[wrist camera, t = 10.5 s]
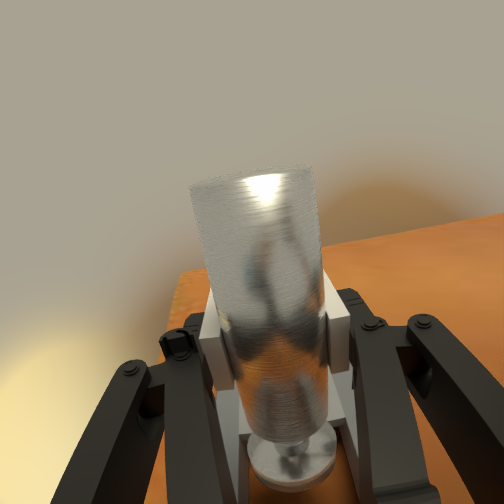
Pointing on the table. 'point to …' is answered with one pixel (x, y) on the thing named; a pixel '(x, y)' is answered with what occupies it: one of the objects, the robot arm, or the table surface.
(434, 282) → the table surface
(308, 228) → the steel peg
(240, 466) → the keyhole plate
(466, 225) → the table surface
